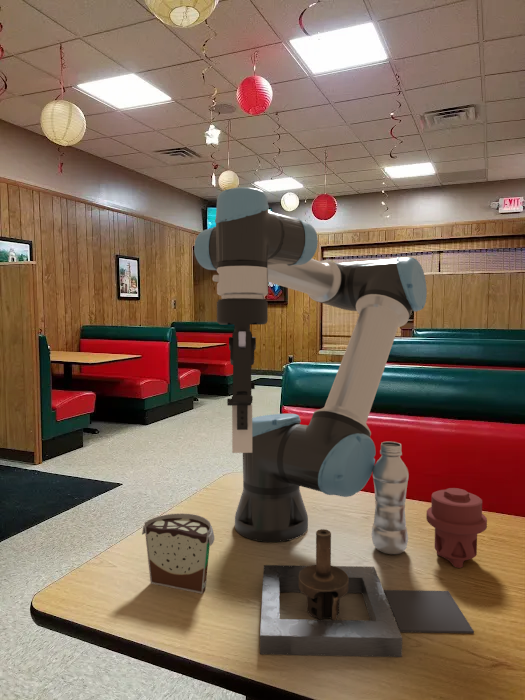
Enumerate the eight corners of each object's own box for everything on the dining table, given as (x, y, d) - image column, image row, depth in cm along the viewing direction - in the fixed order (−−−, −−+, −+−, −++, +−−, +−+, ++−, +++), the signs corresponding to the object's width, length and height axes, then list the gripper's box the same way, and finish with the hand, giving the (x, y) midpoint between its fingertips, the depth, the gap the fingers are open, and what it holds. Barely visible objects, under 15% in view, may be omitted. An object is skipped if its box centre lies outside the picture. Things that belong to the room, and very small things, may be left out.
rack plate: (263, 579, 81) (263, 565, 81) (373, 581, 80) (374, 566, 80) (260, 654, 63) (260, 635, 63) (401, 656, 62) (402, 638, 62)
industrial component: (297, 596, 76) (297, 520, 75) (343, 596, 76) (344, 521, 75) (300, 635, 67) (301, 549, 66) (353, 635, 67) (354, 549, 66)
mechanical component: (478, 548, 92) (492, 576, 82) (422, 544, 94) (429, 570, 84) (480, 484, 91) (494, 504, 81) (423, 480, 93) (430, 499, 83)
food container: (226, 576, 82) (226, 517, 81) (211, 595, 76) (210, 532, 76) (162, 564, 86) (161, 508, 85) (142, 581, 80) (141, 522, 80)
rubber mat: (384, 591, 77) (384, 589, 77) (448, 592, 77) (448, 590, 77) (399, 632, 67) (400, 629, 67) (473, 633, 67) (473, 631, 67)
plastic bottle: (388, 562, 87) (390, 450, 85) (363, 546, 93) (365, 442, 91) (415, 554, 90) (418, 446, 88) (390, 539, 96) (391, 438, 94)
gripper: (221, 301, 85) (221, 422, 86) (210, 293, 60) (211, 464, 61) (264, 301, 85) (264, 422, 86) (272, 293, 60) (272, 463, 61)
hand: (242, 440), depth 74 cm, fingers open, 13 cm apart
